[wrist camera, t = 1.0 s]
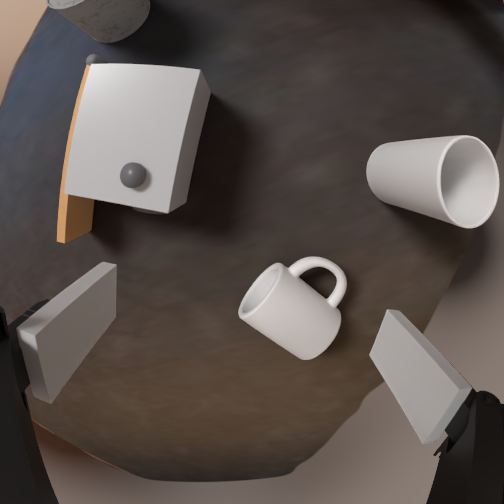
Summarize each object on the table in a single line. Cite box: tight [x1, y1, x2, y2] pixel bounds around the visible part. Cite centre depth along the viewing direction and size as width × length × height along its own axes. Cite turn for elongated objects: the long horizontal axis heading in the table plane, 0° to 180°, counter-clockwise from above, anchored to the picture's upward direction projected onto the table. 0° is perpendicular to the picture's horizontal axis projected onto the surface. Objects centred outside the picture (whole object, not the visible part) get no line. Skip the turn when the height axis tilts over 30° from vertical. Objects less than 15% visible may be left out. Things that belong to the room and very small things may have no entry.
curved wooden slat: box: [57, 54, 109, 243], centre depth 30 cm, size 22×2×7 cm, turn 167°
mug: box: [238, 257, 347, 360], centre depth 36 cm, size 12×10×8 cm
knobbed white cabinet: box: [64, 64, 211, 214], centre depth 29 cm, size 15×12×10 cm
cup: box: [366, 135, 499, 228], centre depth 28 cm, size 8×8×16 cm
